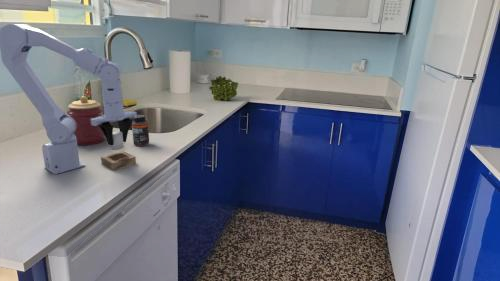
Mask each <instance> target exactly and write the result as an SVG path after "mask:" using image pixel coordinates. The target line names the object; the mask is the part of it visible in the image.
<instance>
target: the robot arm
mask: <svg viewBox="0 0 500 281" xmlns="http://www.w3.org/2000/svg"><path fill="white" fill-rule="evenodd" d="M32 47H44V48H46V49H48V50H50V51H53V52H55V53H57V54H59V55H62V56H64V57H66V58H68V59H69V60H70V59H71V60H72V62H73V65H74V66H75V67H78V68H80V69H81V70H83V71H86V72H87V73H90V74H92V75H94V76H98V77H99V79H100V80H101V91H102V102H103V110H104V111H103V113H104V115H103V116H100V117H96V118H92V119H91V125H93V126H97V125H98V126H99V127H100V128H101V130H102V131H103V133H104V135H105V137H106V139H105V140H106V142H107V145H109V146H111V145H113V132H114V126H113V125H112V124H111V123H114V122H117V125H118V129H119V131H120V132H122V133H123V143H126V142H127V139H128V134H129V131H130V128H131V127H132V122H133V120H132V119H134V118H137V115H138V113H137V111H124V98H123V97H124V96H123V87H122V81H121V78H120V77H121V75H122V67H120V65H119V64H118V63H116V61H113V60H109V58H107V57H102V56H100V55H98V54H96V53H94V52H93V51H94V50H93V49H91V48H80V49H77V48H75V47H73V46H71V45H69V44H68V43H65V41H64V42H63V41H62V40H60V39H58V38H56V37H55V36H52V35H50V34H49V33H47V32H45V31H43V30H41V29H39V28H36V27H33V26H31V25H30V24H27V23H19V24H15V23H7V24H4V25H3V26H1V28H0V56H1V61H2V64H3V65H4V67H5V68H6V69H7V70H8V72H9V74H10V75H11V77H12V78H13V79H14V80H15V82H17V84H18V85H19V87H20V89H21V90H22V91H23V93H24V94H25V95H26V96H27V98H28V99H29V101H30V102H31V104H32V105H33V106H34V108H35V109H36V111H37V112H38V113H39V114H40V116H41V120H42V126H43V127H44V129H45V130H46V136H47V138H48V139H49V141H48V142H47V143H44V144H42V146H41V147H42V148H41V150H42V155H43V157H42V158H43V162H44V166H43V167H44V169H46V170H48V171H49V172H50V173H52V174H53V175H57V174H61V173H64V172H68V171H72V170H75V169H80V168H83V167H86V164H85V163H83V162H81V161H80V155H79V154H80V153H79V147H78V145H77V139H76V136H75V135H74V132H75V130H76V128H77V124H76V122H75V120H74V119H73V118H71V117H69V116H68V114H67V113H66V111H65V110H64V109H63V108H60V106H58V105H57V103H56V102H55V100H54V99H53V97H52V95H50V93H49V91H48V90H47V89H46V87H45V85H43V83H42V82H41V80H40V79H39V77H38V76H37V74H36V73H35V72H34V70H33V69H32V67H31V65H30V64H29V63H28V61H27V58H28V56H29V52H30V50H31V49H32Z"/></svg>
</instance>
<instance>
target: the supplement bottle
mask: <svg viewBox="0 0 500 281" xmlns="http://www.w3.org/2000/svg"><path fill="white" fill-rule="evenodd" d="M131 129H132V141H133V143H132V144H133V145H134V146H136V147H144V146H148V145H149V144H150V133H149V131H150V130H149V122H148V121H147V120H146V117H145V115H144V114H137V118H133V120H132V124H131Z"/></svg>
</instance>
